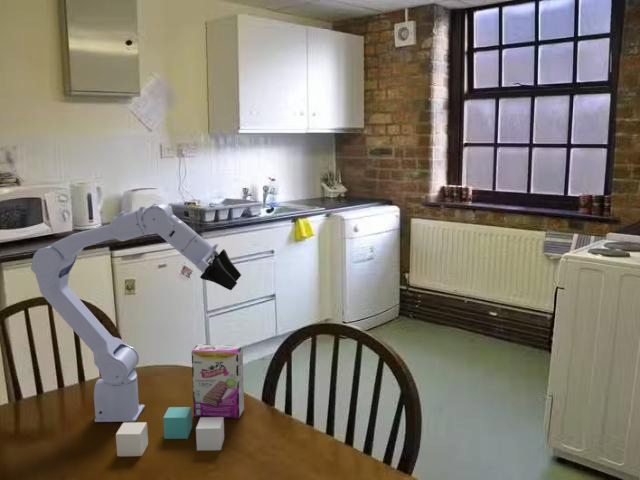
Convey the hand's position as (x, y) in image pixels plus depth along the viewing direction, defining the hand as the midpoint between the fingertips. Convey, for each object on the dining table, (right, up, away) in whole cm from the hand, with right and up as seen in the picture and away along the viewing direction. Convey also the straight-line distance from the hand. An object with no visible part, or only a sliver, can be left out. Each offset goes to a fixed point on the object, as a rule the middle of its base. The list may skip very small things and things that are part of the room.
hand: (236, 282), depth 136 cm
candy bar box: (-5, -32, +6) cm, 33 cm away
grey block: (-4, -34, -8) cm, 35 cm away
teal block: (-12, -33, -3) cm, 36 cm away
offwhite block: (-20, -35, -10) cm, 41 cm away
